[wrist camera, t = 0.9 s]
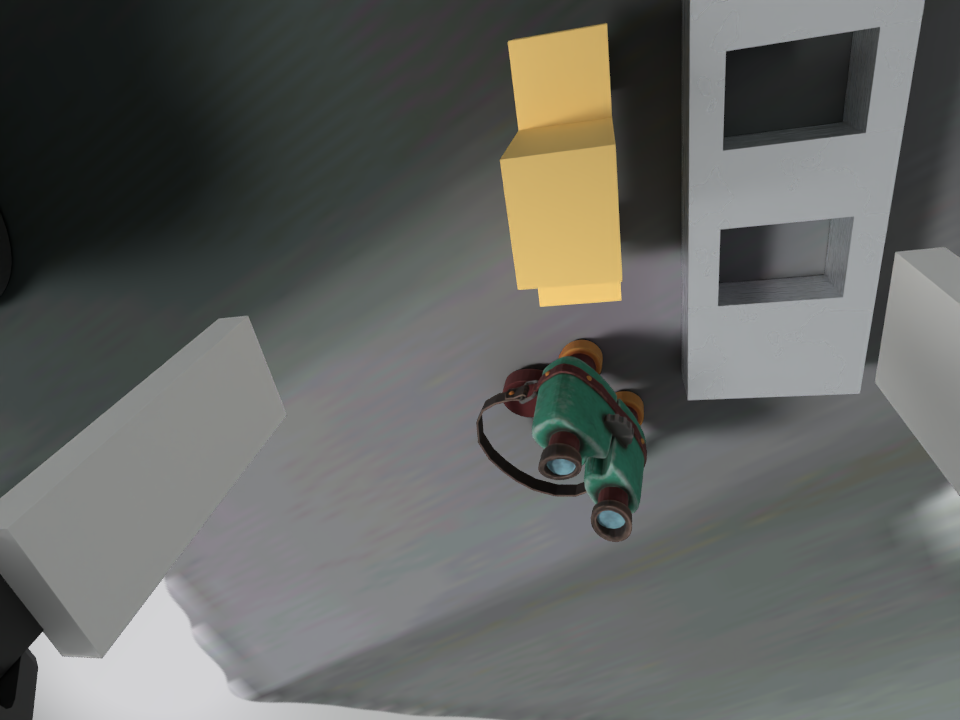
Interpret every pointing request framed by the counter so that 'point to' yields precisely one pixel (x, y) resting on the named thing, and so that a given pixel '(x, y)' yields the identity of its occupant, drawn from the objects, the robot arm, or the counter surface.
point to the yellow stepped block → (563, 169)
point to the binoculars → (579, 435)
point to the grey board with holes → (789, 199)
